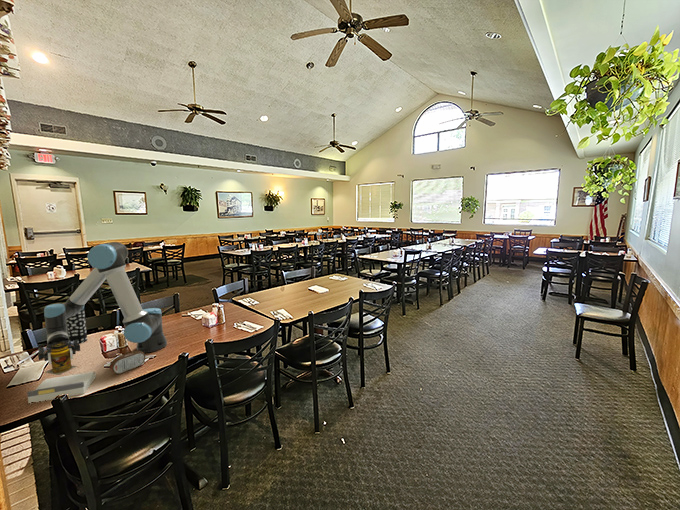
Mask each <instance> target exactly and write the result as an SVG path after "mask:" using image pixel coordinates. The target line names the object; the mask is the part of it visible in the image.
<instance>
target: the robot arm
mask: <svg viewBox="0 0 680 510" xmlns="http://www.w3.org/2000/svg"><path fill="white" fill-rule="evenodd" d="M128 256H129V250H128V248H127V247H126V245H125V244H123V243H121V242H118V241H111V242H105V243H100V244H97V245H95V246H92V248H90V250H89V251H88V253H87V261H88V263H89V265H90V266H91V267H93V269H92V270H91V271H90V273H88V275H87V276H86V277H85V278H84V280H83V281H82V282H81V283H80V285H79V286H78V287H77V288H76V289H75V291H74V292H73V293H72V294H71V295H70V297H68V299H67V300H66V301H65V302H63V303H54V304H49V305H46V306H45V307H44V309H43V313H44V314H43V316H44V323H45V324H44V325H45V332H46V339H47V340H46V342H47V345H45V347H44V346H39V347H38V348H37V349H38V354H37V355H38V361H42V360H43V359H44V362H47V361H48V365H52V364H51V363H52V362H51V355H50V354H51V352H52V351H51V346H52V345H54V344H57V343H62V342H66V343H67V344H68V348H69V350H70V358H71V360H73V359H74V355H76V354H77V353H76V352H80V351H81V345H80V344H79V343H78V339H76V340H75V341H73V342H71V341H69V337H68V330H67V321H66V319H68V318H69V317H71V316H73V315H75V314H77V313H79V312H80V311H82V310H83V308H84V309H85V304H86V303H87V302H88V301H89V300H90V298H92V297H93V295H94V294H95V293H96V292H97V290H98V289H99V288H100V287H101V285H103V283H104V282H105V281H106V282H107V284H108V285H109V288H110V290H111V291H112V295H113V297H114V299H115V300H116V303H117V304H118V305H117V306H118V307H119V309H120V311H121V313H122V316H123V320H122V323H123V325H124V330H123V337H124V338H125V339H126V341H128V342H130V343H133V344H136V351H142V352H143V353H144V354H145V353H152V352H157V351H159V349H160V350H161V348H162V349H163V347H164V348H165V347H167V345H168V340H167V337H166V335H165V333H164V331H163V330H164V329H163V328H164V327H163V316H162V315H163V314H162V310H161V308H158V307H153V308H152V307H149V308H144V309H143V307H142V305H141V302H140V300H139V298H138V297H137V294H136V292H135V289H134V287H133V285H132V284H131V283H132V282H131V281H130V278H129V277H128V274H127V272H126V267H127V263H126V262H125V261H126V259H127V258H128ZM71 344H72V345H71Z"/></svg>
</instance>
